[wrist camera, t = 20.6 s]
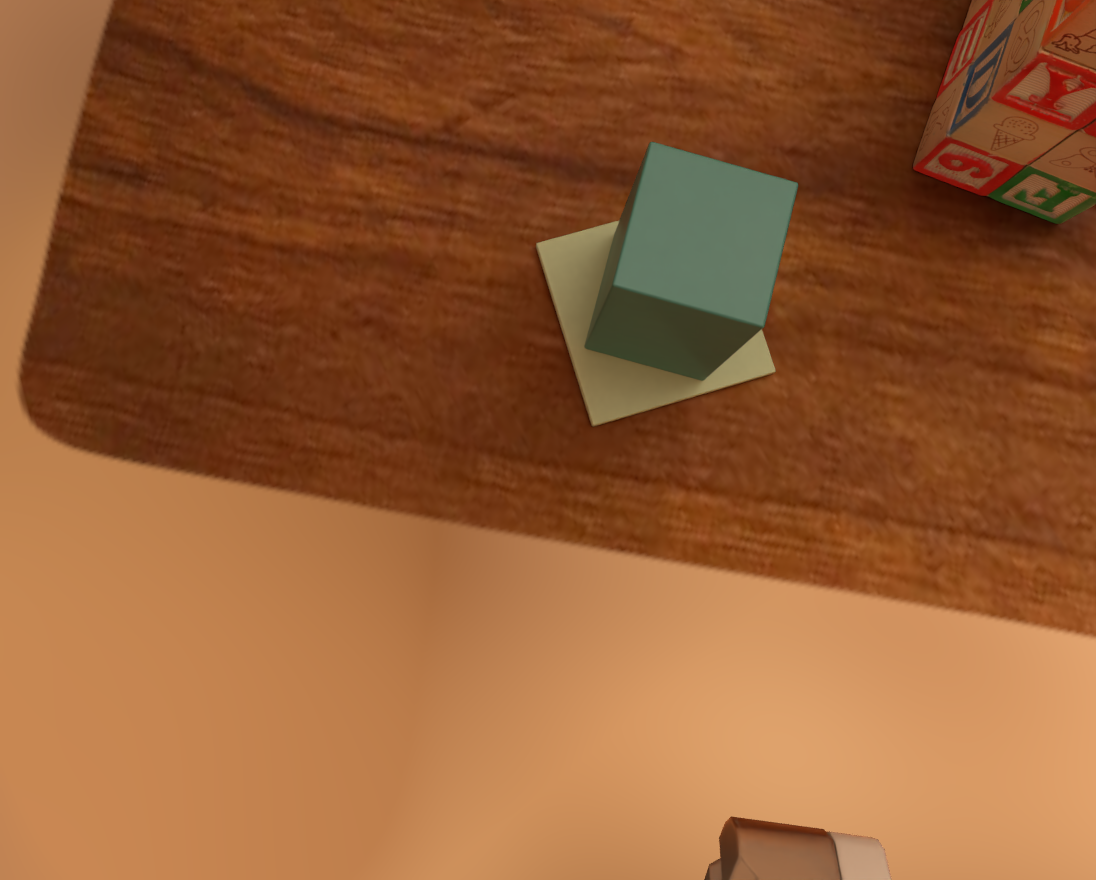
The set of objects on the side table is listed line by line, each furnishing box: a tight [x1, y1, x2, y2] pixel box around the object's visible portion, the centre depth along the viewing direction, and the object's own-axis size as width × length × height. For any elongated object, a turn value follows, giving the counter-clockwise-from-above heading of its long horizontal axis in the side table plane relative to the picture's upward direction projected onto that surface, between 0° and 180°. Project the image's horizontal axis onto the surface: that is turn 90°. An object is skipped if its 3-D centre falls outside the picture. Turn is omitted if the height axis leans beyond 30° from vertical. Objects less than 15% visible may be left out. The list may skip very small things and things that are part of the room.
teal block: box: [584, 142, 798, 381], centre depth 33 cm, size 4×4×8 cm
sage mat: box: [536, 221, 776, 427], centre depth 37 cm, size 7×7×1 cm
